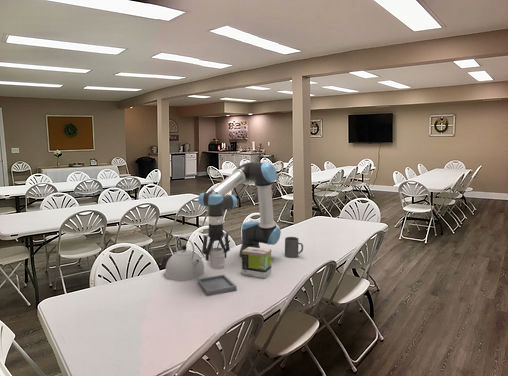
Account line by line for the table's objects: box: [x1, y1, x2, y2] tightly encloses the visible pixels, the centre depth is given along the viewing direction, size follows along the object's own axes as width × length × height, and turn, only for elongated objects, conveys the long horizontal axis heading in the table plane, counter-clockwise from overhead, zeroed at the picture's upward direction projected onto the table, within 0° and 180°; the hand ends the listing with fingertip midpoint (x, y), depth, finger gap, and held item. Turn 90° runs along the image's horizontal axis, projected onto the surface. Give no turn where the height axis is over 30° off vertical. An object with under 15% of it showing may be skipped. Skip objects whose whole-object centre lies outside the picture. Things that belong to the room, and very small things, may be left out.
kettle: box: [164, 235, 205, 282], centre depth 223 cm, size 25×23×22 cm
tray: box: [196, 274, 238, 297], centre depth 206 cm, size 18×16×2 cm
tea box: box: [241, 247, 272, 279], centre depth 225 cm, size 15×10×15 cm, turn 65°
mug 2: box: [284, 236, 304, 259], centre depth 257 cm, size 14×9×12 cm
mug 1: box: [209, 246, 226, 270], centre depth 204 cm, size 8×12×12 cm, turn 44°
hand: (216, 264), depth 205 cm, fingers closed on mug 1, 7 cm apart
